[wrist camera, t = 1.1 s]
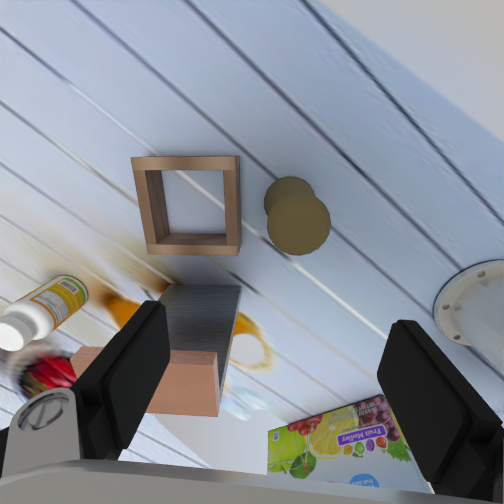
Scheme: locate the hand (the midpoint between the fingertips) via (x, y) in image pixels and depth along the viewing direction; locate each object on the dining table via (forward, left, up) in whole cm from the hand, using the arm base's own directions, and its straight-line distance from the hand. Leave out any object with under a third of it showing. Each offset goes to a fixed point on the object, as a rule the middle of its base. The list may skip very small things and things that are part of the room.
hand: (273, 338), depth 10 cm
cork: (-2, -2, -21) cm, 22 cm away
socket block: (+9, -2, -21) cm, 23 cm away
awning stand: (+9, +9, -21) cm, 24 cm away
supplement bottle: (+29, +11, -21) cm, 38 cm away
